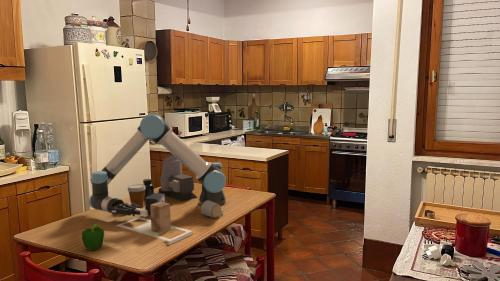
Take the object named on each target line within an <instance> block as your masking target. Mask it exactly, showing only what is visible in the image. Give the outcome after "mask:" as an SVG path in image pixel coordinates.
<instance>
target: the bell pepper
mask: <svg viewBox="0 0 500 281" xmlns="http://www.w3.org/2000/svg"><path fill="white" fill-rule="evenodd" d="M81 239H82V243H83V245H84V248H85V249H86V250H88V251H97V250H99V249H100V248H102V247H103V242H104V239H105V230H104V228H102V227H100V223H98V222H97V223H95V224H93V225H92V226H91V228H89V227H87V228H86V229H84V230H82V232H81Z"/></svg>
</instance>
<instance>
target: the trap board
mask: <svg viewBox="0 0 500 281" xmlns="http://www.w3.org/2000/svg"><path fill="white" fill-rule="evenodd" d="M136 220H142V221H145V223H143V224H140V225H138V226H135V227H130V226H126V225H125V224H128V223H131V222H133V221H136ZM116 227H119V228H122V229H124V230H125V229H127V230H130V231H132V232H135V233H136V232H137V233H140V234H142V235H147V236H149V237H154V238H156V239H159V240H163V241H164V242H162V243H163V244H166V245H169V246H170V245H172V244H174V243H177V242H178V241H179V242H180V241H182V240H183V239H185V238H187V237H188V238H189V236H192V235H193V230H190V229H187V228H183V227H178V226H175V225H173V224H171V230H173V229H175V230H179V231H182V232H183V233H181V234H179V235H177V236H174V237H172V238H168V237H164V236H161V234H164V233H166V232H169V231H170V230H168V231H166V232H163V233H161V234H160V233H157V232H153V231H151V219H148V218H146V217H142V216H141V217H140V216H139V217H136V218H133V219H130V220H127V221H125V222H122V223H119V224H117V225H116Z"/></svg>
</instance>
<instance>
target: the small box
mask: <svg viewBox="0 0 500 281" xmlns="http://www.w3.org/2000/svg"><path fill="white" fill-rule="evenodd" d="M165 197H166V196H165V194H161V193H158V192H154V193H153V194H152V195H150V196H148V197H146V198H145V201H144V205H145V206H144V208H145V209H144V210H147V213H148V216H147V217H151V210H150V205H151V204H154V203H157V202H165V203H166V198H165Z"/></svg>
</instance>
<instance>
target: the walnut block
mask: <svg viewBox="0 0 500 281" xmlns="http://www.w3.org/2000/svg"><path fill="white" fill-rule="evenodd" d="M150 210H151V216H150V220H151V231H153V232H157V233H160V234H159V235H161V233H162V234H164V233H166V231H167V232H169V231H171V230H172V229H171V225H172V224H171V223H172V222H171V221H172V220H171V203H168V202H166V201H165V202H157V203H154V204H151V205H150ZM168 230H169V231H168ZM163 232H164V233H163Z"/></svg>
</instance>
